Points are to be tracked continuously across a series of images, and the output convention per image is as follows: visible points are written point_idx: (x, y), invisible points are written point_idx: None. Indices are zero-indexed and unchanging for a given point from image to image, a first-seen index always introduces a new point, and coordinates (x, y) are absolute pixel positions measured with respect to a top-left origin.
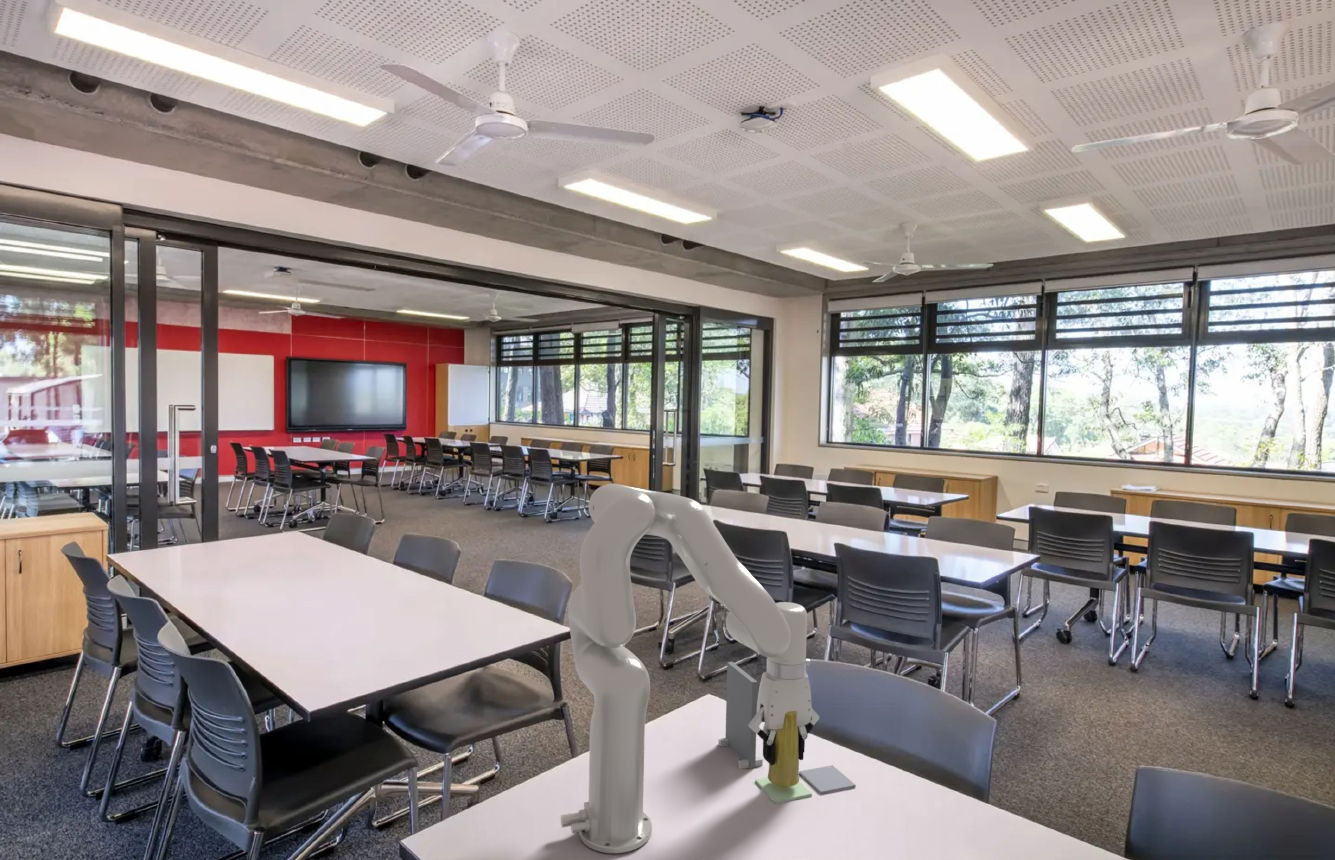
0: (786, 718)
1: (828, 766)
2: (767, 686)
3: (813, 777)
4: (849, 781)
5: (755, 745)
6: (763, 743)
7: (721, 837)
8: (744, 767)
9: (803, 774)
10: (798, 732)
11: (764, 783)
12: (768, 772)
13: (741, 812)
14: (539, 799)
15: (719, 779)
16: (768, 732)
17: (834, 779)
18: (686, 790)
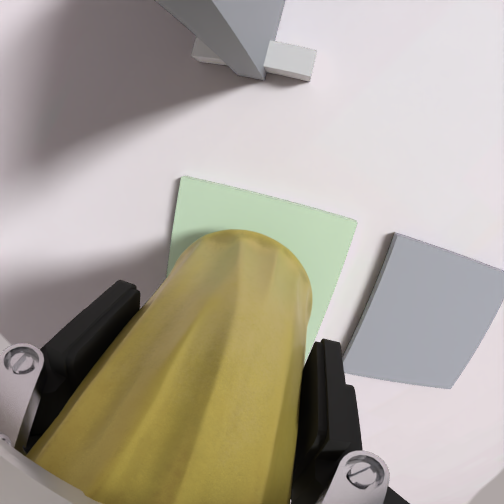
0: None
1: (499, 275)
2: None
3: (401, 300)
4: (457, 370)
5: (245, 51)
6: (44, 351)
7: (13, 321)
8: (215, 62)
9: (391, 263)
10: (316, 500)
11: (195, 221)
12: (174, 266)
13: (64, 288)
14: None
15: (87, 99)
16: (34, 410)
17: (439, 345)
18: (2, 123)
